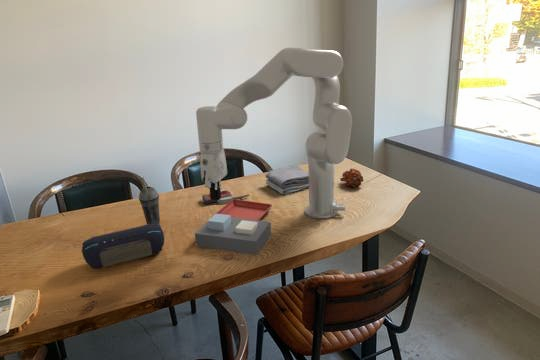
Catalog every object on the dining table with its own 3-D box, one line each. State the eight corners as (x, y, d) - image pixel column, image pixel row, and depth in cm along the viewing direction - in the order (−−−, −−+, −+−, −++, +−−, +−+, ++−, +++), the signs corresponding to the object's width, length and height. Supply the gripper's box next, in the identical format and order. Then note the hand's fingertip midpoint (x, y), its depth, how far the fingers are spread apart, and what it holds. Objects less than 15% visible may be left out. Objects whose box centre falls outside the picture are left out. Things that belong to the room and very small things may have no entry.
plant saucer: (253, 232, 143) (252, 224, 142) (210, 225, 150) (209, 217, 149) (273, 211, 159) (273, 204, 157) (233, 206, 166) (233, 198, 165)
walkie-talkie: (204, 209, 165) (250, 199, 172) (203, 199, 163) (249, 189, 170) (199, 201, 172) (243, 192, 179) (198, 191, 171) (242, 183, 178)
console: (271, 234, 140) (270, 221, 139) (256, 255, 128) (255, 241, 126) (215, 227, 148) (213, 215, 146) (196, 246, 135) (194, 233, 133)
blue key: (231, 228, 140) (230, 215, 138) (224, 235, 135) (223, 222, 133) (216, 226, 142) (215, 213, 140) (209, 233, 137) (207, 220, 135)
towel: (264, 186, 184) (263, 170, 181) (297, 177, 193) (296, 162, 190) (282, 196, 172) (281, 179, 169) (316, 186, 180) (316, 170, 178)
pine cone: (359, 193, 174) (343, 189, 184) (371, 179, 175) (354, 175, 186) (349, 180, 170) (333, 176, 181) (361, 166, 172) (345, 163, 182)
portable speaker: (86, 277, 121) (79, 249, 118) (86, 262, 130) (79, 234, 126) (169, 256, 130) (164, 229, 127) (163, 243, 139) (159, 217, 135)
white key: (258, 235, 137) (257, 222, 135) (252, 243, 132) (251, 229, 130) (243, 233, 139) (242, 220, 137) (236, 241, 134) (235, 227, 132)
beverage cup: (167, 222, 153) (159, 173, 146) (155, 231, 147) (146, 180, 140) (152, 219, 156) (144, 171, 149) (139, 228, 150) (130, 178, 143)
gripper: (210, 153, 120) (215, 209, 126) (231, 140, 133) (235, 191, 139) (188, 151, 122) (194, 206, 128) (211, 139, 135) (215, 189, 142)
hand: (215, 198), depth 134 cm, fingers closed
